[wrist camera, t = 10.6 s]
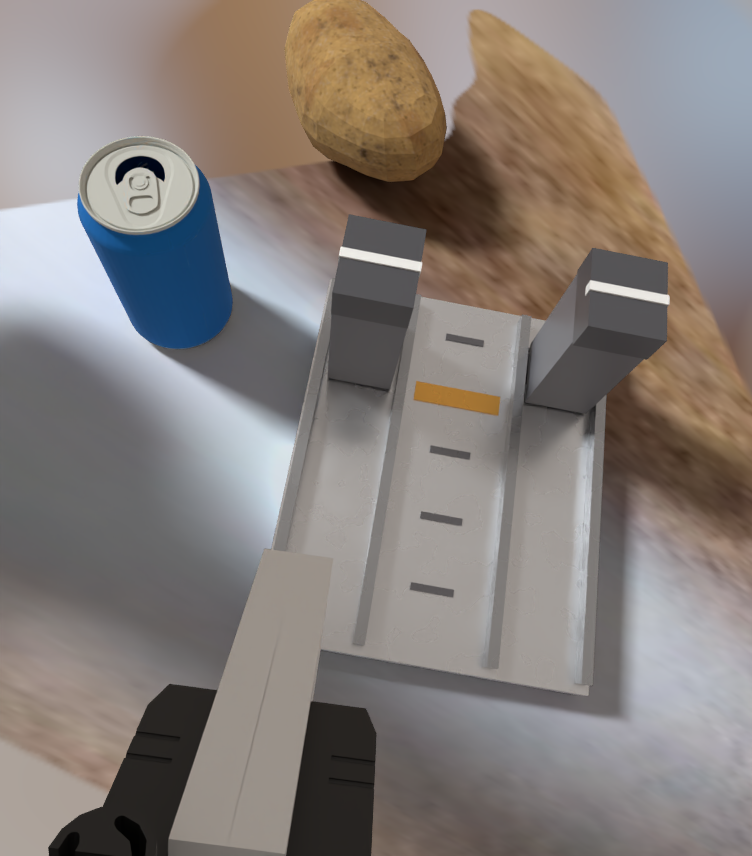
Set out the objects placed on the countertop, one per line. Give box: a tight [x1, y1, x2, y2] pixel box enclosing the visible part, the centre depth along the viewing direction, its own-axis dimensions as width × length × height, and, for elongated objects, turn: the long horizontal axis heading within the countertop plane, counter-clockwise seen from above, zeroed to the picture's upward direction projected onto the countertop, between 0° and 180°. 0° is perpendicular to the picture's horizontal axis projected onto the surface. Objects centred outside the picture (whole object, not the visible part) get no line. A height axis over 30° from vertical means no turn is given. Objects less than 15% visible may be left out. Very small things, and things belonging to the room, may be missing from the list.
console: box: [271, 278, 607, 696], centre depth 40 cm, size 18×22×3 cm
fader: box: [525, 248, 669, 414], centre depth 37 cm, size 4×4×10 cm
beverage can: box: [77, 136, 233, 349], centre depth 38 cm, size 6×6×12 cm
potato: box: [285, 0, 447, 182], centre depth 46 cm, size 10×14×8 cm
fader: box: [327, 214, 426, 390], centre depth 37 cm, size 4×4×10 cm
